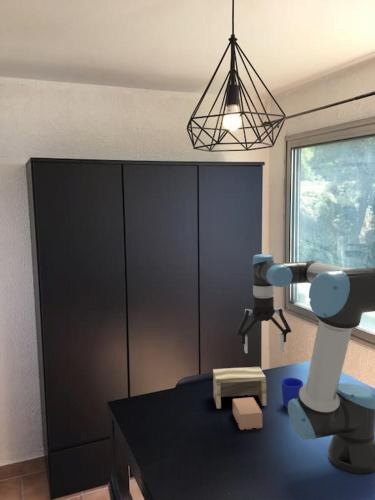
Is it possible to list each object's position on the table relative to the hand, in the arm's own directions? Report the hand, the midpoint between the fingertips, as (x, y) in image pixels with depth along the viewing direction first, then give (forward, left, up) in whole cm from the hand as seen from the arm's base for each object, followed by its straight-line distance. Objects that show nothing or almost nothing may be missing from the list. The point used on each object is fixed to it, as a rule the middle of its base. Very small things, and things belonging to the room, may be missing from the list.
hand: (263, 351), depth 164 cm
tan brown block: (-6, +8, -24) cm, 26 cm away
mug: (+1, -13, -24) cm, 27 cm away
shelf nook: (+9, +8, -24) cm, 27 cm away
